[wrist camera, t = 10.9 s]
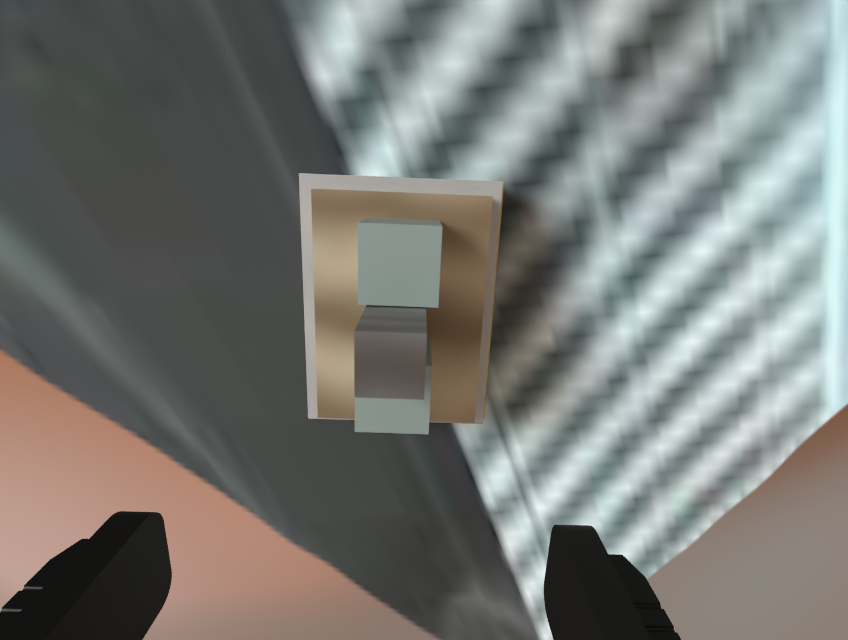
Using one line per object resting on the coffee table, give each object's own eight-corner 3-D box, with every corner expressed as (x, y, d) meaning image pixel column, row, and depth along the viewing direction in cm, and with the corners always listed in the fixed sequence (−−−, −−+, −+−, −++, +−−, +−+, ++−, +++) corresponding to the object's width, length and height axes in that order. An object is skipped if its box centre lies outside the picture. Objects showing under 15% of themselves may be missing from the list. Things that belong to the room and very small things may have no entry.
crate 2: (364, 338, 27) (354, 362, 23) (430, 340, 27) (431, 365, 23) (364, 398, 28) (354, 431, 24) (427, 400, 28) (428, 434, 24)
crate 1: (367, 217, 25) (357, 222, 21) (438, 220, 25) (442, 226, 21) (367, 287, 26) (357, 304, 22) (435, 290, 26) (438, 307, 22)
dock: (495, 182, 30) (506, 181, 26) (478, 400, 35) (485, 426, 31) (314, 175, 30) (298, 173, 26) (321, 395, 34) (308, 420, 31)
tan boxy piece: (319, 188, 26) (260, 188, 17) (487, 195, 26) (525, 199, 17) (324, 403, 30) (279, 502, 21) (471, 408, 30) (494, 509, 21)
